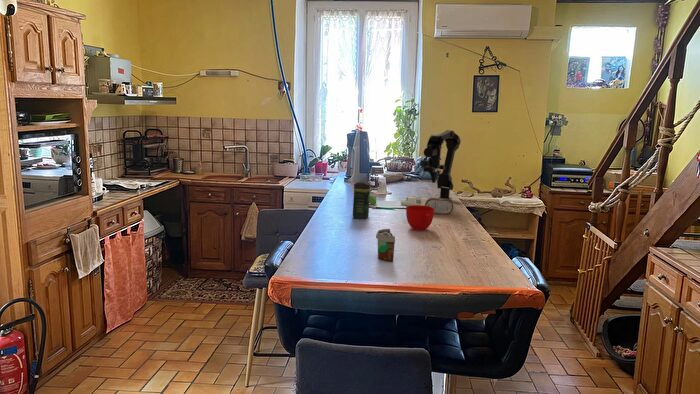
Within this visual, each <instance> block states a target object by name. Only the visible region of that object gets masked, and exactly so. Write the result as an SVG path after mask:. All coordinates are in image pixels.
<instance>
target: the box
mask: <svg viewBox="0 0 700 394" xmlns="http://www.w3.org/2000/svg"><path fill="white" fill-rule="evenodd" d="M417 202H418V203H417ZM420 203H421V202H420ZM420 203H419V201H416V203H412V202H408V199H407V198H406V199H404V200H401V201H400V205H401V204H402V205H401V206H405V205H407V206H412V205H421V206H425V205H424V204H420ZM407 206H406V207H407Z"/></svg>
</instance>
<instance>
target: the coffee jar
mask: <svg viewBox="0 0 700 394" xmlns="http://www.w3.org/2000/svg"><path fill="white" fill-rule="evenodd" d="M370 191H371V183H370V182H369V181H368V180H359V181H356V182H355V183H353V199H352V201H353V203H352V218H353V219H354V218H355V219H358V220H361V219H364V220H365V219H367V218H368V217H369V215H370V204H369V198H370V194H371V193H370Z"/></svg>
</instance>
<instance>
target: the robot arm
mask: <svg viewBox="0 0 700 394" xmlns="http://www.w3.org/2000/svg"><path fill="white" fill-rule="evenodd" d="M444 142H445V146H446V149H447V151H446V155H445V158H444V163H443V164H441V160H442V158H441V155H442V154H441V151H442V148H443V147H442V145H443V144H444ZM461 142H462V140H461V138H460V136H459V135H458V134H456V132H455V131H454V130H450V129H449V130H448V129H447V130H445V131H443V132H441V133H439V134H431V135H430V136H429V139H428V141H427V144H426V147H425V148H424V150H423V155H424V156H425V157H426V158H428V159H427V160H425V159H422V160H420V163H419V166H421V168H423V169H422V172H426V173H429V174H430V178H431V182H432V184H433V183H434V184H435V183H436V185H437V189H440V191H439V197H437V198H445V199H449V200H452V197H450V192H451V191H454V184H453V180H452V179H453V178H452V175H451V172H452V169H453V168H452V167H453V163H454V159H455V158H454V157H455V153H456V151H457V150H458V149H460V145H461ZM441 170H442V171H441Z"/></svg>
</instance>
